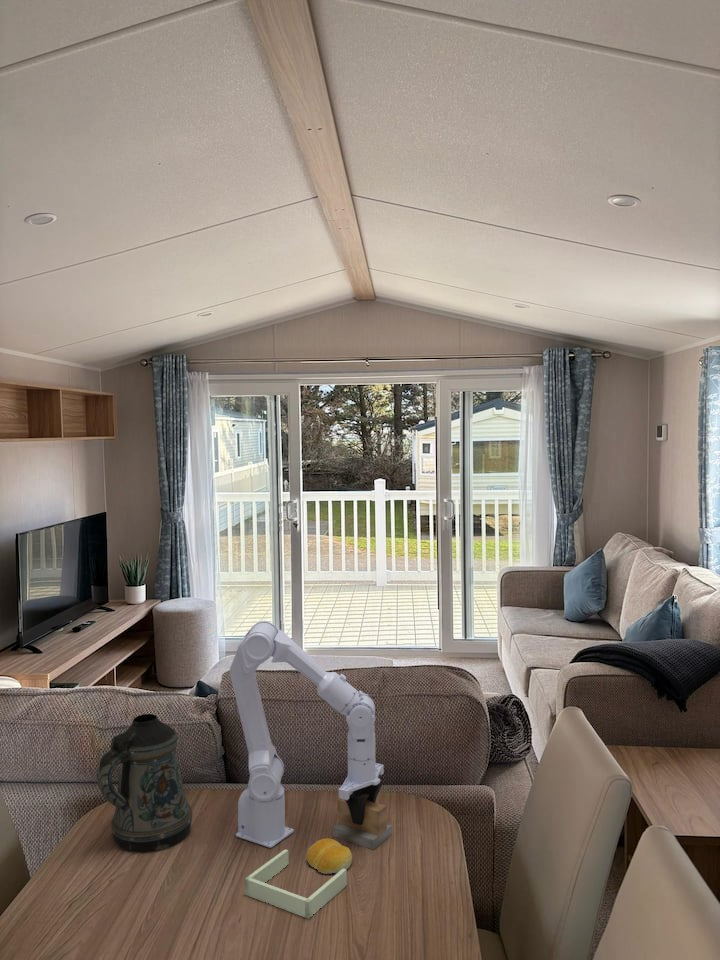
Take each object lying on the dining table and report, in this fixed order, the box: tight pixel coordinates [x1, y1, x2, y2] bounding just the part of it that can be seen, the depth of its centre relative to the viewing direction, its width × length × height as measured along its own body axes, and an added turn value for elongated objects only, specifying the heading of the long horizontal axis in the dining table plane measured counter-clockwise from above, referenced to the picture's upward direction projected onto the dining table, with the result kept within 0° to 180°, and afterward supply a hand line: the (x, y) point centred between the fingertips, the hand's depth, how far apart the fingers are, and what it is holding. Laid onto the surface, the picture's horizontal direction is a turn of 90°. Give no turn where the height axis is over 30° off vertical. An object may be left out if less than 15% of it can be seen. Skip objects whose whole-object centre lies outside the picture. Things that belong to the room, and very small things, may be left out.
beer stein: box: [96, 713, 193, 854], centre depth 167 cm, size 16×19×25 cm
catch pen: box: [244, 849, 348, 920], centre depth 148 cm, size 14×12×3 cm
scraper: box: [332, 798, 393, 851], centre depth 167 cm, size 10×7×7 cm
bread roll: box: [306, 838, 353, 875], centre depth 157 cm, size 8×9×4 cm
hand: (362, 819), depth 167 cm, fingers closed on scraper, 3 cm apart
